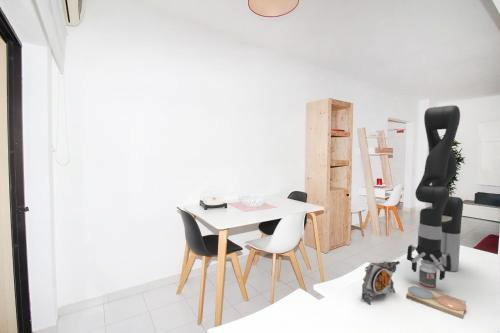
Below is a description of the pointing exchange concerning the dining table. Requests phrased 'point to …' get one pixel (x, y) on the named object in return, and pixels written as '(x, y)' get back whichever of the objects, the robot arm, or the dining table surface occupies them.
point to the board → (436, 303)
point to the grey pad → (420, 292)
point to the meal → (378, 279)
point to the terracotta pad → (451, 303)
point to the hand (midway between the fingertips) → (427, 275)
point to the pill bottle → (427, 274)
